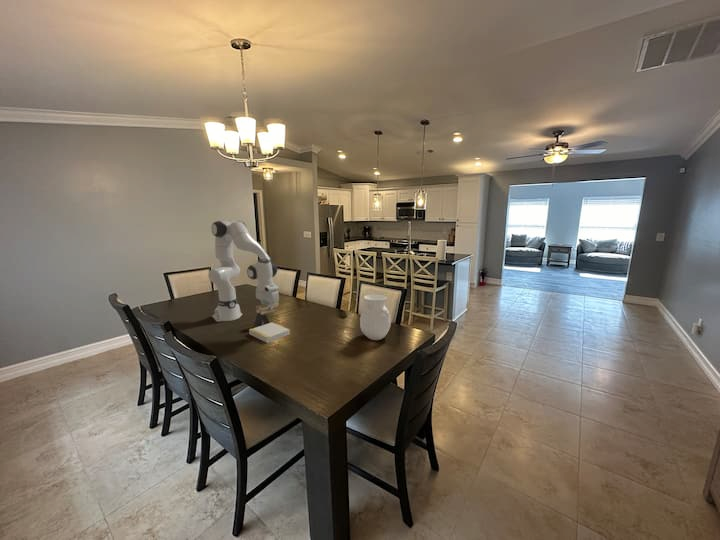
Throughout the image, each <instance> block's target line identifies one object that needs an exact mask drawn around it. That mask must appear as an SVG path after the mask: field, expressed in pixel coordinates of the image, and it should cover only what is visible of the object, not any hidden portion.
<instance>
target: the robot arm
mask: <svg viewBox="0 0 720 540" xmlns="http://www.w3.org/2000/svg"><path fill="white" fill-rule="evenodd" d="M211 234H212V235H213V236H214V237H215V238H214V239H215V240H214V245H215V246H214V250H215V252H214V253H215V258H216V259H217V260H218V261H220V265H219V266H215V267H214V268H212V269H211V270H209V271H208V275H207V276H208V279H209V281H210V282H212V283H213V284H214V285H215V287H216V288H217V293H218V305H217V306H216V308H215V309H214V311H213V312H214V314H212V315H211V317H212V318H213V319H214V320H215V322H217V323H218V322H231V321H232V322H233V321H235V320H237V319H240V318H241V316H242V315H243V313H242V312H241V308H240V304H238V299H237V294H236V293H237V292H236V288H235V286H234V285H232V284H231V281H230V280H233V279H235V278H236V277H238V276H239V275H240V274H241V267H240V266H239V265H238V264H237V263H236V261H235V258H234V245H235V247H236V248H237V249H238V250H240V251H244V252H248V253H249V252H250V253H253V254H255V255H257V256H258V258H259V259H258V260H257V261H256V262H255V263H253V264H250V265H249V266H248V267H247V270H246V271H247V277H248V278H250V280H253V281H254V280H257V285H256V288H255V297H256V299H257V300H260V303H261V305H263V302H262V299H265V300H266V302H268V303H270V307H269V309H270V310H272V309H273V305H274V304H277V303H279V302H280V295H279V286H278V285H276V283H275V282H274V279H273V278H274V277H275V276H276V275H277V273H278V266H277V264H276V263H275V262H274V261H273V260H272V259H271V257H270V256H269V255H268V253H267V252H266V250H265V249H264V247H263V246H262V244H261V243H260V242H258V241H256V239H254V237H252V236H251V234H250V232H249V230H248V228H247V225H246V223H245V222H243V221H240V220H223V221H221V220H218V221H214V222H213V223H212V225H211ZM233 244H234V245H233Z"/></svg>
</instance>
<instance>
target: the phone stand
mask: <svg viewBox="0 0 720 540" xmlns="http://www.w3.org/2000/svg"><path fill="white" fill-rule="evenodd" d="M262 323H263V324H262ZM268 323H271V322H270V321H269V319H268V316H267V313H266V314H263V315H261V314H260V313H256V318H255V322H254V325H253V326H254V328H256V327H259V326H262V325H265V324H268Z"/></svg>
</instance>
